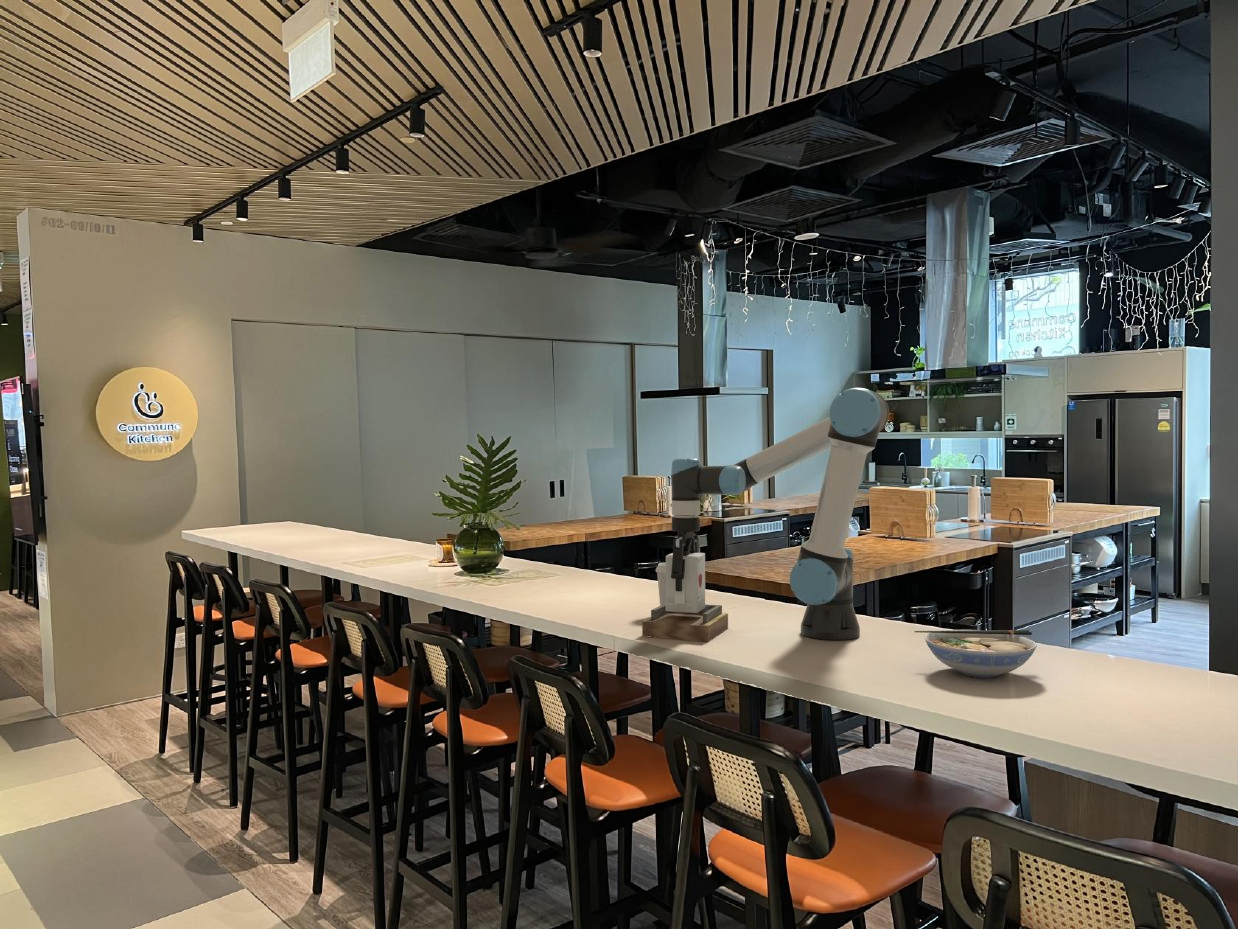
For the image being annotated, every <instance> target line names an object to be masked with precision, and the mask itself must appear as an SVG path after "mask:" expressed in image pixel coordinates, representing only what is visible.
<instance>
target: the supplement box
mask: <svg viewBox="0 0 1238 929" xmlns="http://www.w3.org/2000/svg"><path fill="white" fill-rule="evenodd" d="M672 559H673V552H672V553H669V554H667V555H666V556H665V563H666V611H670V612H687V613H698V612H700V611H701V610H703V609H704V608H705V604H706V553H705V552H698V553H689V555H687V556H683V559H685V573H684V578H683V579H685V604H676V603H675V586H674V579H672V578H671V572H672Z"/></svg>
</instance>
